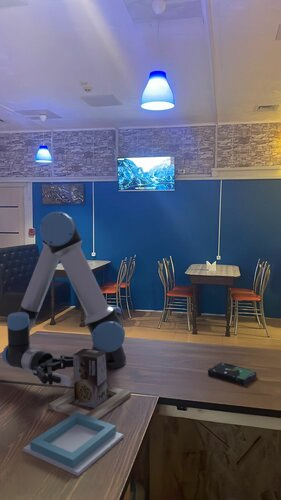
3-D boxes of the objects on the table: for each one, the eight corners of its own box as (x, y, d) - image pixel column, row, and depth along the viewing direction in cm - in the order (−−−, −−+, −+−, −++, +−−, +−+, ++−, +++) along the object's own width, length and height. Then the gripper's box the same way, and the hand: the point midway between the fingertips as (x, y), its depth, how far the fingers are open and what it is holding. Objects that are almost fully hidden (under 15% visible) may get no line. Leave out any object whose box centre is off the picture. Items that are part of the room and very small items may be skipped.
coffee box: (108, 400, 120) (108, 351, 119) (98, 409, 114) (97, 357, 113) (84, 395, 124) (83, 347, 123) (73, 403, 118) (72, 353, 117)
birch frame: (48, 408, 115) (48, 403, 115) (90, 384, 132) (90, 380, 132) (92, 423, 106) (91, 418, 106) (130, 396, 123) (130, 391, 123)
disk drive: (207, 377, 140) (244, 387, 130) (207, 369, 139) (244, 379, 130) (220, 368, 147) (257, 377, 138) (220, 361, 147) (256, 370, 138)
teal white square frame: (23, 450, 93) (23, 440, 93) (72, 419, 108) (72, 409, 108) (78, 476, 84) (78, 464, 84) (123, 437, 99) (123, 427, 99)
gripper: (63, 361, 141) (108, 372, 129) (8, 385, 120) (56, 401, 108) (63, 341, 140) (108, 351, 129) (7, 362, 119) (56, 376, 108)
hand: (84, 374), depth 119 cm, fingers open, 13 cm apart
